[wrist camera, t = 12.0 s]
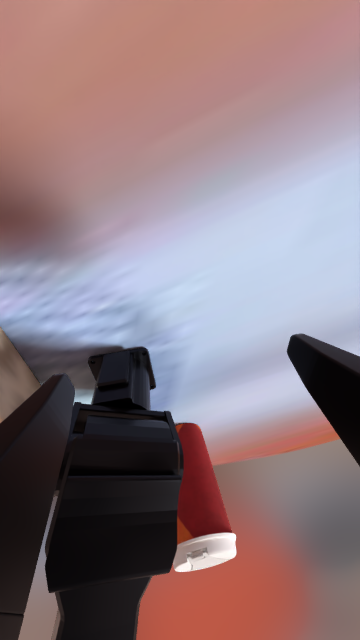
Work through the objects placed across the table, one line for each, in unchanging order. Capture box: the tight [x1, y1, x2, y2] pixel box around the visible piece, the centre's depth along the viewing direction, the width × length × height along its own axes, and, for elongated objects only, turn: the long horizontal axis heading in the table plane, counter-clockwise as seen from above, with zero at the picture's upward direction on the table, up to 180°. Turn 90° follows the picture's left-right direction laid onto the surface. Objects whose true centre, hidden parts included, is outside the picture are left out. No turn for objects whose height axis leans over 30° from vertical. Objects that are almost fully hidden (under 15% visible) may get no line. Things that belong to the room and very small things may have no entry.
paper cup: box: [173, 423, 236, 572], centre depth 28 cm, size 8×8×14 cm
